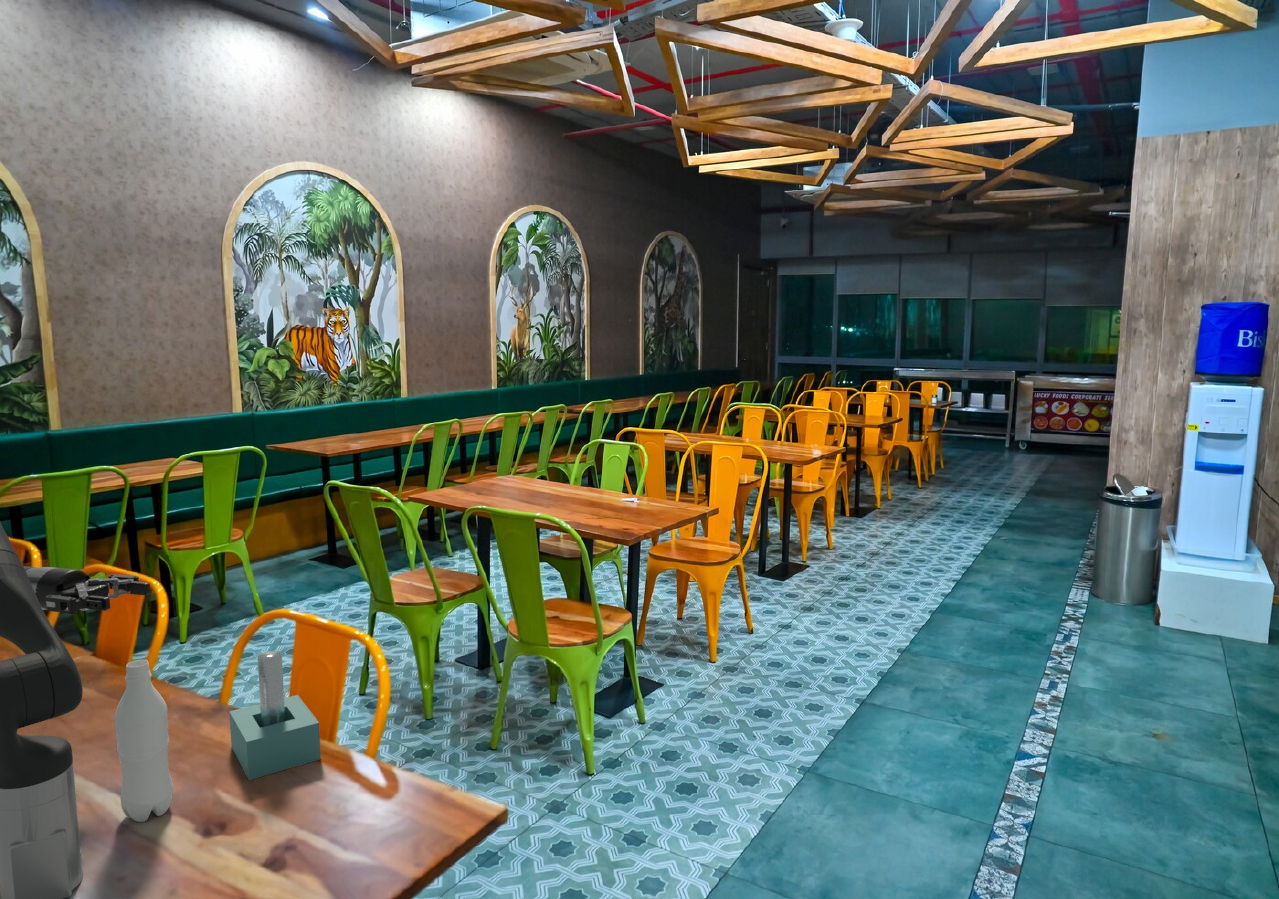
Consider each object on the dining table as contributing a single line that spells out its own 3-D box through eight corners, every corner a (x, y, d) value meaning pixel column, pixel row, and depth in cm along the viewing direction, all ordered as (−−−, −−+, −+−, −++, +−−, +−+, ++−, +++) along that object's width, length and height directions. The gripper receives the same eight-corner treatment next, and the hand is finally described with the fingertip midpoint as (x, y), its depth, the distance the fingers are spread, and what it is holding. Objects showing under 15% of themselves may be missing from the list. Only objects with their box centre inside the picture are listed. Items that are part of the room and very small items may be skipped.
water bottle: (112, 817, 130) (99, 667, 126) (156, 795, 136) (146, 651, 133) (139, 830, 127) (127, 676, 123) (184, 807, 133) (173, 660, 129)
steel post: (289, 751, 150) (284, 655, 148) (265, 757, 147) (260, 660, 145) (283, 743, 153) (278, 649, 151) (260, 749, 151) (255, 654, 149)
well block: (320, 759, 148) (319, 722, 147) (248, 780, 141) (246, 741, 140) (299, 729, 159) (297, 694, 158) (231, 747, 152) (229, 711, 151)
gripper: (13, 580, 140) (92, 587, 137) (86, 558, 154) (159, 564, 151) (17, 622, 141) (95, 631, 138) (89, 596, 155) (162, 604, 152)
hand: (129, 596), depth 144 cm, fingers open, 8 cm apart
